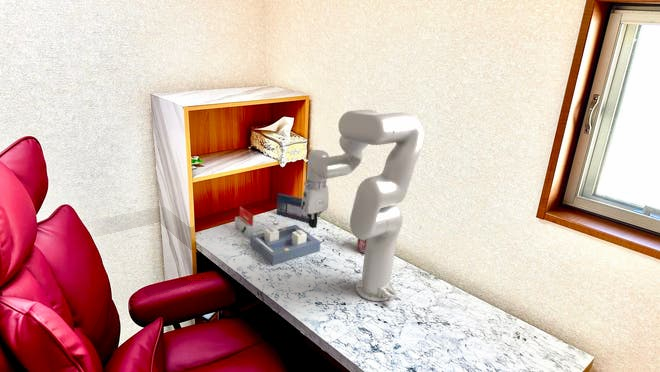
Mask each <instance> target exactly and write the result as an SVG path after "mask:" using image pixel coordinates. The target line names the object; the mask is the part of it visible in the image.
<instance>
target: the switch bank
mask: <svg viewBox="0 0 660 372" xmlns="http://www.w3.org/2000/svg"><path fill="white" fill-rule="evenodd" d="M276 229H277V230H278V231H279V239H278V240H275V241H271V242H267V243H266V242H265V241H264V237H265V232H262V233H257V234H253V236H250V238H249V239H250V243H249V246H250V247H251V248H252V249H254V250H255V251H256V252H257V253H258V254H259V255H261V257H263V258H264V259H265V260H266V261H267V262H268V263H270V264H271V265H272V266H276V265H278V264H282V263H285V262H288V261H291V260H294V259H297V258H301V257H304V256H308V255H311V254H315V253H318V252H320V251H321V241H320V240H319V239H318V238H316V237H314V236H313V235H312V234H310V233H309V232H308V231H306V230H304V229H303V228H302V227H300V226H298V225H297V224H293V225H288V226H285V227H281V228H276ZM296 230H302V231H303V232H305V233H306V234H307V239H306V242H305V243H301V244H298V245H293V244H292V232H295V231H296Z"/></svg>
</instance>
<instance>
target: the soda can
mask: <svg viewBox="0 0 660 372" xmlns="http://www.w3.org/2000/svg"><path fill="white" fill-rule="evenodd" d="M366 241H367V239H366V240H361V239H358V238H357V244H356V245H357V246H356V247H357V248H356V249H357V251H359V252H360V253H362V254H363V255H365V247H366Z"/></svg>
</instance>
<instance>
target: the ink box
mask: <svg viewBox="0 0 660 372" xmlns="http://www.w3.org/2000/svg"><path fill="white" fill-rule="evenodd" d="M234 217H235V218H234V229H236V230H237V231H238V232H240V234H242V235H243V236H245V237H246V239H250V236H253V235H254V214H252V213H251V212H249V211H248V210H247V209H245V208H244V207H243V206H241V205H240V206H239V216H234Z"/></svg>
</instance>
